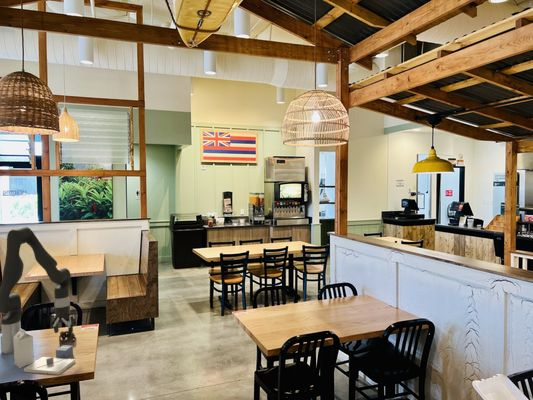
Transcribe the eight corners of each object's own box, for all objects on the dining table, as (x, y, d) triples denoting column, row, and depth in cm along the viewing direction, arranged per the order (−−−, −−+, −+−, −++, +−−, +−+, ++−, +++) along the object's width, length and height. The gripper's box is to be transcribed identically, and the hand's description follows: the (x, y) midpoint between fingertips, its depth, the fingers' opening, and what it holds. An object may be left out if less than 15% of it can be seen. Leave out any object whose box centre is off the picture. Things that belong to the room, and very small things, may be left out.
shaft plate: (24, 371, 199) (23, 362, 198) (42, 359, 211) (41, 351, 211) (58, 374, 196) (58, 365, 195) (75, 362, 208) (74, 353, 208)
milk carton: (29, 359, 212) (27, 325, 211) (34, 363, 207) (32, 329, 206) (14, 364, 206) (12, 329, 205) (19, 368, 202) (17, 333, 201)
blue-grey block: (56, 358, 212) (55, 349, 212) (63, 353, 218) (63, 344, 218) (65, 359, 211) (65, 350, 211) (73, 354, 217) (72, 345, 217)
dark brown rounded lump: (80, 341, 235) (77, 332, 231) (67, 353, 229) (63, 344, 224) (68, 332, 240) (64, 324, 236) (54, 344, 234) (50, 336, 229)
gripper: (45, 306, 210) (47, 335, 211) (69, 307, 208) (70, 336, 209) (55, 301, 217) (56, 329, 218) (78, 302, 215) (79, 330, 216)
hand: (63, 332), depth 214 cm, fingers open, 8 cm apart
